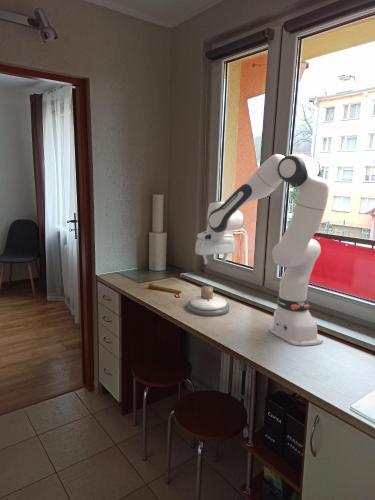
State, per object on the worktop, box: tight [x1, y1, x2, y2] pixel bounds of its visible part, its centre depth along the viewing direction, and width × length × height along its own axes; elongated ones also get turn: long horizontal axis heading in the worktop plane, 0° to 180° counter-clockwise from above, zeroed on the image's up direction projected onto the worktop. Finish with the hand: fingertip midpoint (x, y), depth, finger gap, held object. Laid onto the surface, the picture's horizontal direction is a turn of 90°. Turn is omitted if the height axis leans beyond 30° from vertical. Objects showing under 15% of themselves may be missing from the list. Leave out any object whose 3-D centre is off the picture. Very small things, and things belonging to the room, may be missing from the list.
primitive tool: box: [147, 283, 183, 295], centre depth 202 cm, size 19×6×4 cm, turn 75°
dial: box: [190, 285, 227, 311], centre depth 176 cm, size 17×17×6 cm
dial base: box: [187, 300, 230, 317], centre depth 177 cm, size 20×20×2 cm
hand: (214, 262), depth 180 cm, fingers open, 8 cm apart
